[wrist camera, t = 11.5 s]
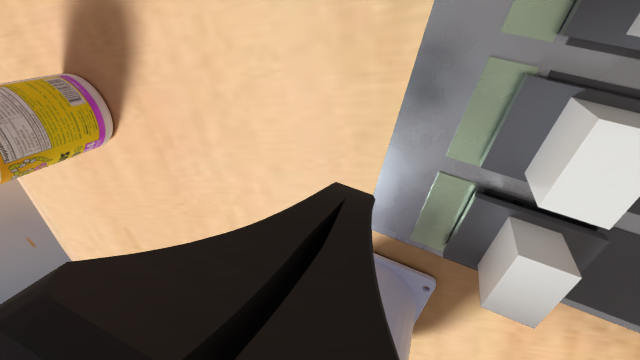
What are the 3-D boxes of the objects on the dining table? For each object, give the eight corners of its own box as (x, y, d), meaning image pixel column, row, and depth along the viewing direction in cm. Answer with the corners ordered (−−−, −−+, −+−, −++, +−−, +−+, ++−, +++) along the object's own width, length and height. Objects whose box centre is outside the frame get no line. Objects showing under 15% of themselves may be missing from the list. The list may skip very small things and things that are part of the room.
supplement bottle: (80, 140, 31) (-115, 207, 20) (50, 72, 28) (-200, 108, 17) (127, 146, 28) (-67, 226, 18) (99, 72, 25) (-156, 115, 15)
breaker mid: (617, 204, 14) (659, 256, 11) (479, 163, 15) (484, 199, 12) (697, 112, 11) (778, 147, 8) (525, 73, 13) (544, 91, 10)
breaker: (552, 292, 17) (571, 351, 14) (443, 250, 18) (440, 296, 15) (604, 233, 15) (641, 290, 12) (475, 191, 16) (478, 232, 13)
